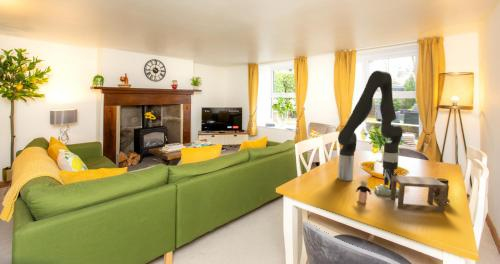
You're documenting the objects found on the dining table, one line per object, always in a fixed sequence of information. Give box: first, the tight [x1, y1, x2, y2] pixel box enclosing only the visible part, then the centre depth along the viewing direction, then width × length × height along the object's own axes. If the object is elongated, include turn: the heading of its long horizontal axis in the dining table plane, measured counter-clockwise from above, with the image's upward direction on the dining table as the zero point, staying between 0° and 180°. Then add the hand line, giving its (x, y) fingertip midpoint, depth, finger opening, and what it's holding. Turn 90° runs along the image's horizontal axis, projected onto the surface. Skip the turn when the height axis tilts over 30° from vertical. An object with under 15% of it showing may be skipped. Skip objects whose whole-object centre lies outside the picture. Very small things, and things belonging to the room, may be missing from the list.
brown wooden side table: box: [389, 175, 447, 213], centre depth 127 cm, size 20×12×14 cm, turn 79°
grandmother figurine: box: [355, 179, 372, 205], centre depth 130 cm, size 8×4×13 cm, turn 66°
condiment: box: [433, 177, 451, 205], centre depth 132 cm, size 7×8×12 cm
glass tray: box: [374, 183, 399, 197], centre depth 142 cm, size 12×6×5 cm, turn 79°
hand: (388, 187), depth 142 cm, fingers open, 8 cm apart
